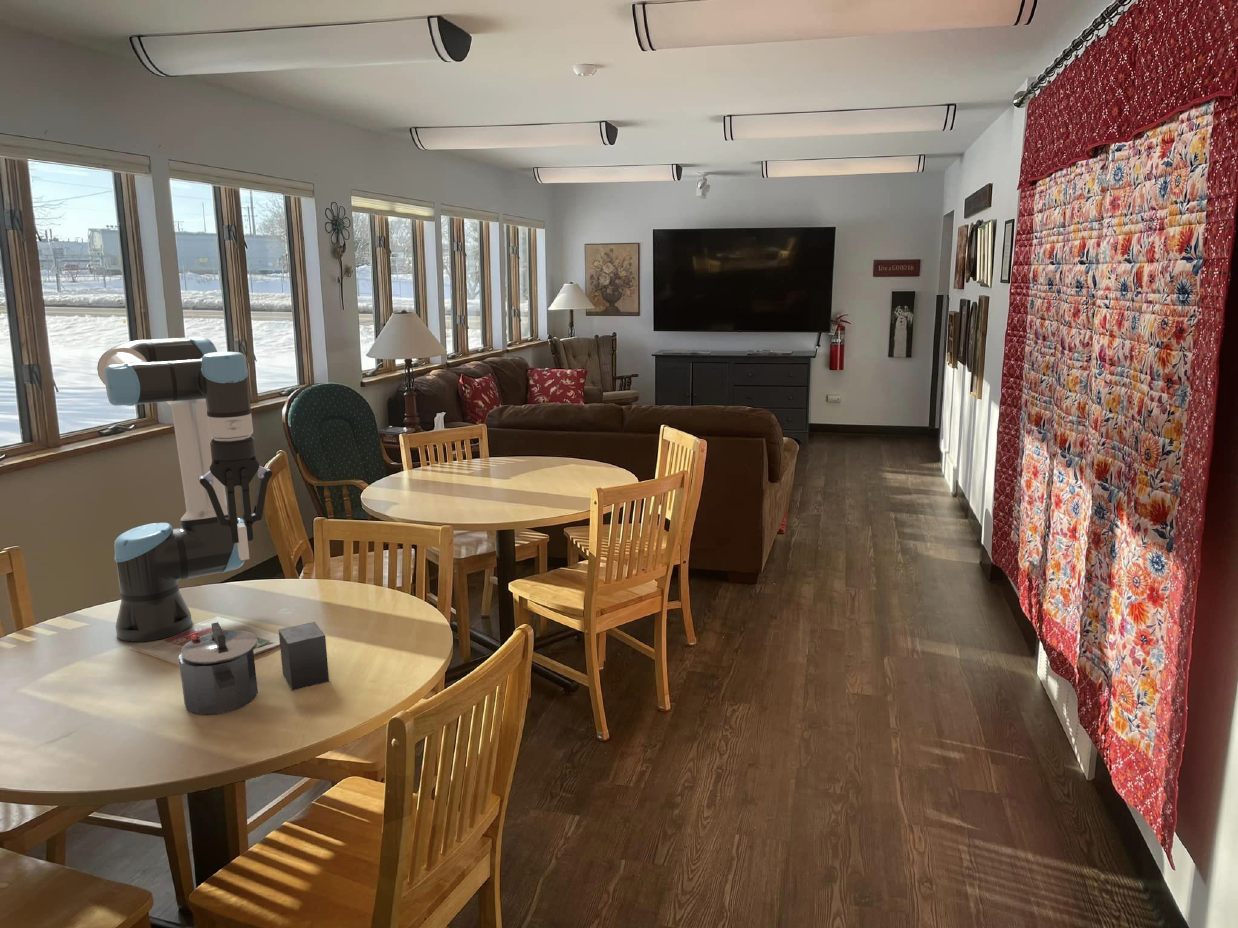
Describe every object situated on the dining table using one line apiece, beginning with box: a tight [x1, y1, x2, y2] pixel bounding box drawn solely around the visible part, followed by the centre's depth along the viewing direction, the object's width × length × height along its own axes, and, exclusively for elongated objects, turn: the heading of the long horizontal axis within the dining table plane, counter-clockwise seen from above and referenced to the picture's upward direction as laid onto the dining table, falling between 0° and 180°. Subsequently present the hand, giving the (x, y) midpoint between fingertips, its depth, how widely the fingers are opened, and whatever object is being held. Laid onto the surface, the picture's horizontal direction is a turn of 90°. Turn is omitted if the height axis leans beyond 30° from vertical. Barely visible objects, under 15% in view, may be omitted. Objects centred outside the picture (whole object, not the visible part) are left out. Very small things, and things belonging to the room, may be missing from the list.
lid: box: [180, 621, 258, 664], centre depth 166 cm, size 13×13×4 cm
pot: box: [178, 649, 259, 716], centre depth 168 cm, size 21×12×10 cm, turn 32°
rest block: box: [278, 621, 330, 691], centre depth 176 cm, size 8×7×10 cm
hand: (244, 557), depth 170 cm, fingers closed
